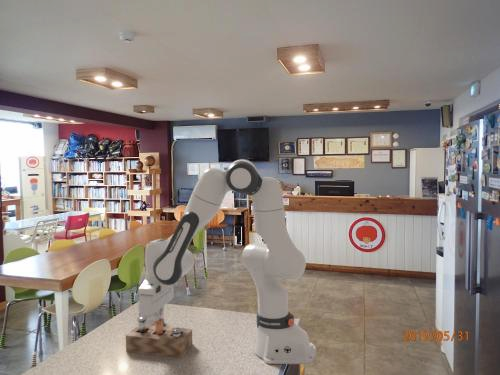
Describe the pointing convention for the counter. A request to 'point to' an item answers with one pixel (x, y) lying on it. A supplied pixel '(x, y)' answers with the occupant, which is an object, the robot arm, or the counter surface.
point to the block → (159, 341)
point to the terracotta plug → (159, 326)
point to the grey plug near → (176, 332)
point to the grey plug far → (142, 324)
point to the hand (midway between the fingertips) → (158, 319)
